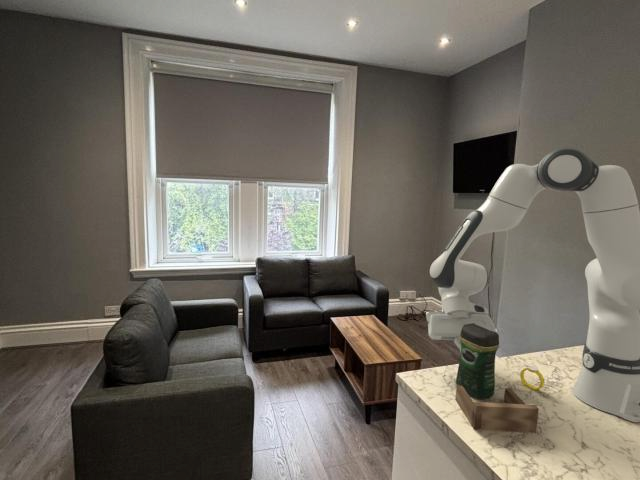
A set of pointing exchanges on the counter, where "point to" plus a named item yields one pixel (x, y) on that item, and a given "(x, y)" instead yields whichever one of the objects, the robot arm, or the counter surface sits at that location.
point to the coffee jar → (477, 361)
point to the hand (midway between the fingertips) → (466, 353)
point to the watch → (535, 370)
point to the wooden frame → (499, 413)
